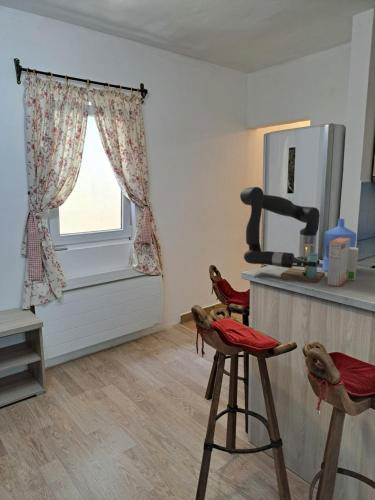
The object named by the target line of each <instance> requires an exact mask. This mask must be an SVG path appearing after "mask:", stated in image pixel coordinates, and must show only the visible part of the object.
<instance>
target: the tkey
mask: <svg viewBox="0 0 375 500" xmlns="http://www.w3.org/2000/svg"><path fill="white" fill-rule="evenodd" d="M303 245H305V246H306V249H305V257H307V256H308V253H311V246H314V244H311V243H303ZM303 268H304V269H302V270H303V271H302V273H303V274H306V273H307V267H303Z"/></svg>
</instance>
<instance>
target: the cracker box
mask: <svg viewBox="0 0 375 500" xmlns="http://www.w3.org/2000/svg"><path fill="white" fill-rule="evenodd" d="M350 241H351V239H350V238H337V239H335V240H332V241H330V243H329V254H328V255H329V263H328V272H327V286H333V287H341V286H342V285H343V284H345V283H346V282H348V281H349V280H348V272H349V257H350Z"/></svg>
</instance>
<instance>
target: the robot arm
mask: <svg viewBox="0 0 375 500" xmlns="http://www.w3.org/2000/svg"><path fill="white" fill-rule="evenodd" d="M239 197H240V201H241V202H242V204H244V205H246V206H250V207H251V212H250V217H249V220H248V222H247V224H246V228H245V229H246V230H245V242H246V243H245V244H247V245H248V250H247V251H245V253H244V255H243V259H244V261H245V262H246V263H247V264H250V265H251V264H252V265H267V266H274V267H279V268H287V269H290V268H292V269H293V267H296V268H297V267H298V268H304V267H307V266H311V267H316V266H317V267H318V266H319V265H320V260H319V259H317V262H310V261H309V262H308V261H307V257H305V249H306V246H305V245H303V243H311V244H314V246H311V253H316V247H317V234H318V230H319V225H320V216H321V215H320V210H319V209H318V208H317V207H313V206H303V205H302V206H301V205H298V204H297V205H296V204H295V203H293V202H292V200H289V199H288V198H284V197H282V196H278V195H272V194H264V191H263V190H262V188H261V187H259V186H252V187H251V186H250V187H246V188H243V190H241V192H240V195H239ZM263 210H265V211H268V212H271V213H274V214H277V215H280V216H285V217H289V218H293V219H295V220H297V221H299V222H301V223H305V226H304V228H301V229H300V231H299V247H298V256H296V257H295V254H294V253H292V252H285V251H284V252H283V251H272V250H271V251H268V250H266V251H262V248H261V247H262V246H261V243H260V234H261V233H260V232H261V231H260V227H261V226H260V225H261V217H262V212H263Z"/></svg>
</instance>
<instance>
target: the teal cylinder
mask: <svg viewBox="0 0 375 500" xmlns="http://www.w3.org/2000/svg"><path fill="white" fill-rule="evenodd" d="M318 258H319V255H318V253H316V252H315V253H308V256H307V261H308V262H309V261H310V262H317V260H318ZM317 272H318V265H317V266H316V267H311V266H307V273H306V277H307V278H316V274H317Z"/></svg>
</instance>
